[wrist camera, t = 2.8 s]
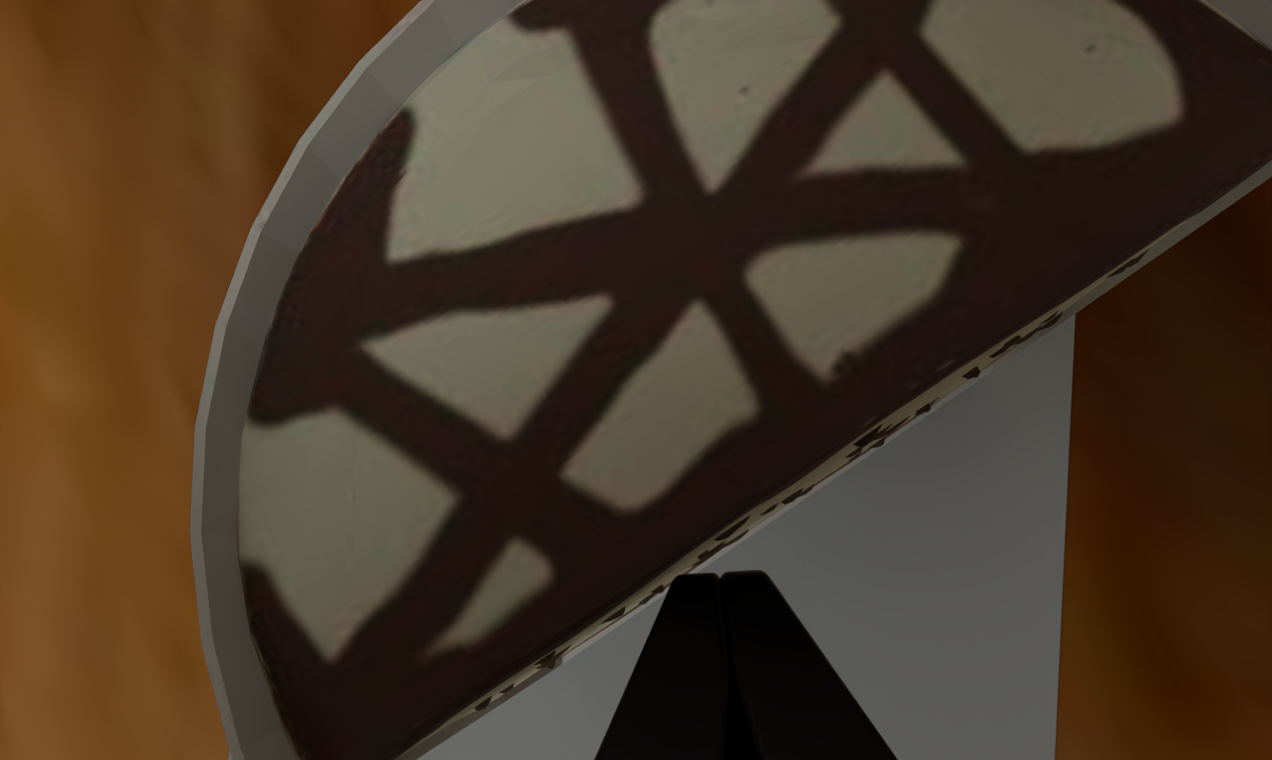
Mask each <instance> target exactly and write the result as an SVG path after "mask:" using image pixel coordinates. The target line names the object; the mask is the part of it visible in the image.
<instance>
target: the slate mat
mask: <svg viewBox="0 0 1272 760" xmlns="http://www.w3.org/2000/svg"><path fill="white" fill-rule="evenodd" d="M1074 333H1075V314H1074V315H1073V316H1071V317H1070V318H1068V319H1067V320H1065V321H1064V322H1063V323H1061V324H1060V325H1058V326H1057V327H1055V328H1054V329H1053V330H1051V331H1050V332H1048V333H1047V334H1045V335H1044V336H1043V337H1041V338H1040V339H1038V340H1037V341H1035V342H1034V343H1033V344H1031V345H1030V346H1028V347H1027V348H1025V349H1024V350H1023V351H1021V352H1020V353H1018V354H1017V355H1015V356H1014V357H1013V358H1011V359H1010V360H1008V361H1007V362H1005V363H1004V364H1002V365H1001V366H1000V367H998V368H997V369H995V370H994V371H992V372H991V373H990V374H988V375H987V376H985V377H984V378H982V379H981V380H979V381H978V382H976V383H975V384H973V385H972V386H970V387H969V388H968V389H966V390H965V391H963V392H962V393H960V394H959V395H957V396H956V397H954V398H953V399H951V400H950V401H948V402H947V403H946V404H944V405H943V406H941V407H940V408H938V409H937V410H935V411H934V412H932V413H931V414H929V415H928V416H926V417H925V418H923V419H922V420H921V421H919V422H918V423H916V424H915V425H913V426H912V427H910V428H909V429H907V430H906V431H904V432H903V433H901V434H900V435H899V436H897V437H896V438H894V439H893V440H891V441H890V442H888V443H887V444H885V445H884V446H882V447H881V448H879V449H878V450H876V451H875V452H874V453H872V454H871V455H869V456H868V457H866V458H865V459H863V460H862V461H860V462H859V463H857V464H856V465H854V466H853V467H852V468H850V469H849V470H847V471H846V472H844V473H843V474H841V475H840V476H838V477H837V478H835V479H834V480H832V481H831V482H829V483H828V484H827V485H825V486H824V487H822V488H821V489H819V490H818V491H816V492H815V493H813V494H812V495H810V496H809V497H807V498H806V499H805V500H803V501H802V502H800V503H799V504H797V505H796V506H794V507H793V508H791V509H790V510H788V511H787V512H785V513H784V514H783V515H781V516H780V517H778V518H777V519H775V520H774V521H772V522H771V523H769V524H768V525H766V526H765V527H763V528H762V529H760V530H759V531H758V532H756V533H755V534H753V535H752V536H750V537H749V538H747V539H746V540H744V541H743V542H741V543H740V544H738V545H737V546H736V547H734V548H733V549H731V550H730V551H728V552H727V553H725V554H724V555H722V556H721V557H719V558H718V559H716V560H715V561H713V562H712V563H711V564H709V565H708V566H706V567H705V568H703V569H702V570H700V571H699V572H697V573H710V572H712V573H716V574H717V575H718V576H719V577H721V576H722V574H723V573H725V572H729V571H747V570H762V571H764V572H765V573H767V574H768V576H769V577H770V578H771V579H772V581H773V582H774V584H775V585H776V586H777V588H778V589H779V591H780V592H781V594H782V595H783V596H784V598H785V599H786V601H787V602H788V604H789V605H790V606H791V608H792V609H793V611H794V612H795V614H796V615H797V616H798V618H799V619H800V621H801V622H802V624H803V625H804V626H805V628H806V629H807V631H808V632H809V633H810V635H811V636H812V638H813V639H814V641H815V642H816V643H817V645H818V646H819V648H820V649H821V651H822V652H823V653H824V655H825V656H826V658H827V659H828V661H829V662H830V663H831V665H832V666H833V668H834V669H835V671H836V672H837V673H838V675H839V676H840V678H841V679H842V681H843V682H844V683H845V685H846V686H847V688H848V689H849V691H850V692H851V693H852V695H853V696H854V698H855V699H856V700H857V702H858V703H859V705H860V706H861V708H862V709H863V710H864V712H865V713H866V715H867V716H868V718H869V719H870V720H871V722H872V723H873V725H874V726H875V728H876V729H877V730H878V732H879V733H880V735H881V736H882V738H883V739H884V740H885V742H886V743H887V745H888V746H889V748H890V749H891V750H892V752H893V753H894V755H895V756H896V757H897V759H898V760H1055V742H1056V720H1057V699H1058V677H1059V656H1060V634H1061V613H1062V591H1063V570H1064V548H1065V527H1066V505H1067V484H1068V462H1069V441H1070V419H1071V398H1072V376H1073V355H1074ZM666 594H667V593H666ZM666 594H665V595H664V596H662V597H661V598H659V599H658V600H656V601H655V602H653V603H652V604H650V605H649V606H647V607H646V608H644V609H643V610H642V611H640V612H639V613H637V614H636V615H634V616H633V617H631V618H630V619H628V620H627V621H625V622H624V623H622V624H621V625H619V626H618V627H617V628H615V629H614V630H612V631H611V632H609V633H608V634H606V635H605V636H603V637H602V638H600V639H599V640H597V641H596V642H595V643H593V644H592V645H590V646H589V647H587V648H586V649H584V650H583V651H581V652H580V653H578V654H577V655H575V656H574V657H572V658H571V659H570V660H568V661H567V662H565V663H564V664H562V665H561V666H559V667H558V668H556V669H555V670H553V671H552V672H550V673H549V674H547V675H546V676H544V677H543V678H541V679H540V680H538V681H537V682H535V683H533V684H532V685H530V686H529V687H527V688H526V689H524V690H523V691H521V692H520V693H518V694H517V695H515V696H513V697H512V698H510V699H509V700H507V701H506V702H504V703H503V704H501V705H500V706H498V707H497V708H495V709H494V710H492V711H490V712H489V713H487V714H486V715H484V716H483V717H481V718H480V719H478V720H477V721H475V722H474V723H472V724H471V725H469V726H467V727H466V728H464V729H463V730H461V731H460V732H458V733H457V734H455V735H454V736H452V737H451V738H449V739H447V740H446V741H444V742H443V743H441V744H440V745H438V746H437V747H435V748H434V749H432V750H431V751H429V752H428V753H426V754H424V755H423V756H421V757H420V758H418V759H417V760H594V759H595V757H596V754H597V752H598V750H599V747H600V745H601V743H602V741H603V738H604V736H605V734H606V731H607V729H608V727H609V725H610V722H611V720H612V718H613V715H614V713H615V711H616V708H617V706H618V704H619V702H620V699H621V697H622V695H623V692H624V690H625V688H626V686H627V683H628V681H629V679H630V676H631V674H632V672H633V669H634V667H635V665H636V663H637V660H638V658H639V656H640V653H641V651H642V649H643V647H644V644H645V642H646V640H647V637H648V635H649V633H650V630H651V628H652V626H653V624H654V621H655V619H656V617H657V614H658V612H659V610H660V608H661V605H662V603H663V601H664V598H665V596H666ZM228 760H233V758H232V756H231V753H229V758H228Z"/></svg>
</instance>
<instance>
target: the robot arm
mask: <svg viewBox="0 0 1272 760" xmlns="http://www.w3.org/2000/svg"><path fill="white" fill-rule="evenodd" d="M594 760H898V759H897V757H896V756H895V755H894V753H893V752H892V750H891V749H890V748H889V746H888V745H887V743H886V742H885V740H884V739H883V738H882V736H881V735H880V733H879V732H878V730H877V729H876V728H875V726H874V725H873V723H872V722H871V720H870V719H869V718H868V716H867V715H866V713H865V712H864V710H863V709H862V708H861V706H860V705H859V703H858V702H857V700H856V699H855V698H854V696H853V695H852V693H851V692H850V691H849V689H848V688H847V686H846V685H845V683H844V682H843V681H842V679H841V678H840V676H839V675H838V673H837V672H836V671H835V669H834V668H833V666H832V665H831V663H830V662H829V661H828V659H827V658H826V656H825V655H824V653H823V652H822V651H821V649H820V648H819V646H818V645H817V643H816V642H815V641H814V639H813V638H812V636H811V635H810V633H809V632H808V631H807V629H806V628H805V626H804V625H803V624H802V622H801V621H800V619H799V618H798V616H797V615H796V614H795V612H794V611H793V609H792V608H791V606H790V605H789V604H788V602H787V601H786V599H785V598H784V596H783V595H782V594H781V592H780V591H779V589H778V588H777V586H776V585H775V584H774V582H773V581H772V579H771V578H770V577H769V576H768V574H767V573H765V572H764V571H762V570H747V571H729V572H725V573H723V574H722V576H721V577H719V576H718V575H717V574H716V573H712V572H710V573H692V574H680V575H677V576H676V577H675V578H674V579H673V581H672V583H671V585H670V587H669V589H668V591H667V594H666V596H665V598H664V601H663V603H662V605H661V608H660V610H659V612H658V614H657V617H656V619H655V621H654V624H653V626H652V628H651V630H650V633H649V635H648V637H647V640H646V642H645V644H644V647H643V649H642V651H641V653H640V656H639V658H638V660H637V663H636V665H635V667H634V669H633V672H632V674H631V676H630V679H629V681H628V683H627V686H626V688H625V690H624V692H623V695H622V697H621V699H620V702H619V704H618V706H617V708H616V711H615V713H614V715H613V718H612V720H611V722H610V725H609V727H608V729H607V731H606V734H605V736H604V738H603V741H602V743H601V745H600V747H599V750H598V752H597V754H596V757H595V759H594Z"/></svg>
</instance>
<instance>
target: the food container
mask: <svg viewBox="0 0 1272 760" xmlns="http://www.w3.org/2000/svg"><path fill="white" fill-rule="evenodd" d="M1270 177H1272V0H421V1H420V2H419V3H418V4H417V5H416V6H415V7H414V8H413V9H412V10H411V11H410V12H409V13H408V14H407V15H406V16H405V17H404V18H403V19H402V20H401V21H400V22H399V23H398V24H397V25H396V26H395V27H394V28H393V29H392V30H391V31H390V32H389V33H387V34H386V35H385V36H384V37H383V38H382V39H381V40H380V41H379V42H378V43H377V44H376V45H375V46H374V47H373V48H372V49H371V50H370V51H369V52H368V53H367V54H366V55H365V56H364V57H363V58H362V59H361V60H360V61H359V62H358V63H357V65H356V66H355V67H354V69H353V70H352V71H351V73H350V74H349V75H348V77H347V78H346V79H345V81H344V82H343V83H342V84H341V86H340V87H339V88H338V90H337V91H336V92H335V94H334V95H333V96H332V98H331V99H330V100H329V102H328V103H327V104H326V106H325V107H324V108H323V109H322V111H321V112H320V113H319V115H318V116H317V117H316V119H315V120H314V121H313V123H312V124H311V125H310V127H309V128H308V129H307V131H306V132H305V133H304V134H303V136H302V137H301V138H300V140H299V142H298V143H297V145H296V147H295V149H294V151H293V152H292V154H291V156H290V158H289V160H288V162H287V163H286V165H285V167H284V169H283V171H282V173H281V174H280V176H279V178H278V180H277V182H276V183H275V185H274V187H273V189H272V191H271V193H270V194H269V196H268V198H267V200H266V202H265V204H264V205H263V207H262V209H261V211H260V213H259V214H258V216H257V218H256V220H255V222H254V224H253V225H252V227H251V230H250V232H249V235H248V238H247V241H246V243H245V246H244V249H243V251H242V254H241V257H240V260H239V262H238V265H237V268H236V271H235V273H234V276H233V279H232V281H231V284H230V287H229V290H228V292H227V295H226V298H225V300H224V303H223V306H222V309H221V311H220V314H219V317H218V320H217V322H216V326H215V331H214V336H213V341H212V346H211V351H210V356H209V360H208V365H207V370H206V375H205V380H204V385H203V390H202V395H201V400H200V405H199V410H198V415H197V420H196V424H195V439H194V460H193V481H192V501H191V522H190V539H191V548H192V558H193V567H194V577H195V586H196V595H197V605H198V614H199V624H200V633H201V642H202V647H203V651H204V655H205V658H206V662H207V666H208V670H209V674H210V677H211V681H212V685H213V689H214V693H215V696H216V700H217V704H218V708H219V712H220V715H221V719H222V723H223V727H224V731H225V734H226V738H227V742H228V746H229V750H230V753H231V756H232V758H233V760H417V759H418V758H420V757H421V756H423V755H424V754H426V753H428V752H429V751H431V750H432V749H434V748H435V747H437V746H438V745H440V744H441V743H443V742H444V741H446V740H447V739H449V738H451V737H452V736H454V735H455V734H457V733H458V732H460V731H461V730H463V729H464V728H466V727H467V726H469V725H471V724H472V723H474V722H475V721H477V720H478V719H480V718H481V717H483V716H484V715H486V714H487V713H489V712H490V711H492V710H494V709H495V708H497V707H498V706H500V705H501V704H503V703H504V702H506V701H507V700H509V699H510V698H512V697H513V696H515V695H517V694H518V693H520V692H521V691H523V690H524V689H526V688H527V687H529V686H530V685H532V684H533V683H535V682H537V681H538V680H540V679H541V678H543V677H544V676H546V675H547V674H549V673H550V672H552V671H553V670H555V669H556V668H558V667H559V666H561V665H562V664H564V663H565V662H567V661H568V660H570V659H571V658H572V657H574V656H575V655H577V654H578V653H580V652H581V651H583V650H584V649H586V648H587V647H589V646H590V645H592V644H593V643H595V642H596V641H597V640H599V639H600V638H602V637H603V636H605V635H606V634H608V633H609V632H611V631H612V630H614V629H615V628H617V627H618V626H619V625H621V624H622V623H624V622H625V621H627V620H628V619H630V618H631V617H633V616H634V615H636V614H637V613H639V612H640V611H642V610H643V609H644V608H646V607H647V606H649V605H650V604H652V603H653V602H655V601H656V600H658V599H659V598H661V597H662V596H664V595H665V594H666V593H667V591H668V589H669V587H670V585H671V583H672V581H673V579H674V578H675V577H676V576H677V575H680V574H692V573H697V572H699V571H700V570H702V569H703V568H705V567H706V566H708V565H709V564H711V563H712V562H713V561H715V560H716V559H718V558H719V557H721V556H722V555H724V554H725V553H727V552H728V551H730V550H731V549H733V548H734V547H736V546H737V545H738V544H740V543H741V542H743V541H744V540H746V539H747V538H749V537H750V536H752V535H753V534H755V533H756V532H758V531H759V530H760V529H762V528H763V527H765V526H766V525H768V524H769V523H771V522H772V521H774V520H775V519H777V518H778V517H780V516H781V515H783V514H784V513H785V512H787V511H788V510H790V509H791V508H793V507H794V506H796V505H797V504H799V503H800V502H802V501H803V500H805V499H806V498H807V497H809V496H810V495H812V494H813V493H815V492H816V491H818V490H819V489H821V488H822V487H824V486H825V485H827V484H828V483H829V482H831V481H832V480H834V479H835V478H837V477H838V476H840V475H841V474H843V473H844V472H846V471H847V470H849V469H850V468H852V467H853V466H854V465H856V464H857V463H859V462H860V461H862V460H863V459H865V458H866V457H868V456H869V455H871V454H872V453H874V452H875V451H876V450H878V449H879V448H881V447H882V446H884V445H885V444H887V443H888V442H890V441H891V440H893V439H894V438H896V437H897V436H899V435H900V434H901V433H903V432H904V431H906V430H907V429H909V428H910V427H912V426H913V425H915V424H916V423H918V422H919V421H921V420H922V419H923V418H925V417H926V416H928V415H929V414H931V413H932V412H934V411H935V410H937V409H938V408H940V407H941V406H943V405H944V404H946V403H947V402H948V401H950V400H951V399H953V398H954V397H956V396H957V395H959V394H960V393H962V392H963V391H965V390H966V389H968V388H969V387H970V386H972V385H973V384H975V383H976V382H978V381H979V380H981V379H982V378H984V377H985V376H987V375H988V374H990V373H991V372H992V371H994V370H995V369H997V368H998V367H1000V366H1001V365H1002V364H1004V363H1005V362H1007V361H1008V360H1010V359H1011V358H1013V357H1014V356H1015V355H1017V354H1018V353H1020V352H1021V351H1023V350H1024V349H1025V348H1027V347H1028V346H1030V345H1031V344H1033V343H1034V342H1035V341H1037V340H1038V339H1040V338H1041V337H1043V336H1044V335H1045V334H1047V333H1048V332H1050V331H1051V330H1053V329H1054V328H1055V327H1057V326H1058V325H1060V324H1061V323H1063V322H1064V321H1065V320H1067V319H1068V318H1070V317H1071V316H1073V315H1074V314H1076V313H1077V312H1078V311H1080V310H1081V309H1083V308H1084V307H1086V306H1087V305H1088V304H1090V303H1091V302H1093V301H1094V300H1096V299H1097V298H1098V297H1100V296H1101V295H1103V294H1104V293H1106V292H1107V291H1108V290H1110V289H1111V288H1113V287H1114V286H1116V285H1117V284H1118V283H1120V282H1121V281H1123V280H1124V279H1126V278H1127V277H1128V276H1130V275H1131V274H1133V273H1134V272H1136V271H1137V270H1139V269H1140V268H1141V267H1143V266H1144V265H1146V264H1147V263H1149V262H1150V261H1151V260H1153V259H1154V258H1156V257H1157V256H1159V255H1160V254H1161V253H1163V252H1164V251H1166V250H1167V249H1169V248H1170V247H1171V246H1173V245H1174V244H1176V243H1177V242H1179V241H1180V240H1181V239H1183V238H1184V237H1186V236H1187V235H1189V234H1190V233H1191V232H1193V231H1194V230H1196V229H1197V228H1199V227H1200V226H1202V225H1203V224H1204V223H1206V222H1207V221H1209V220H1210V219H1212V218H1213V217H1214V216H1216V215H1217V214H1219V213H1220V212H1222V211H1223V210H1224V209H1226V208H1227V207H1229V206H1230V205H1232V204H1233V203H1234V202H1236V201H1237V200H1239V199H1240V198H1242V197H1243V196H1244V195H1246V194H1247V193H1249V192H1250V191H1252V190H1253V189H1254V188H1256V187H1257V186H1259V185H1260V184H1262V183H1263V182H1265V181H1266V180H1267V179H1269V178H1270Z"/></svg>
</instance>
